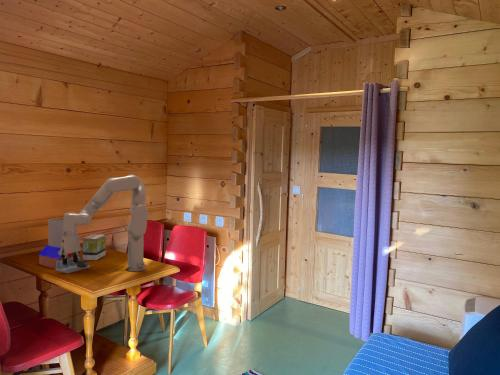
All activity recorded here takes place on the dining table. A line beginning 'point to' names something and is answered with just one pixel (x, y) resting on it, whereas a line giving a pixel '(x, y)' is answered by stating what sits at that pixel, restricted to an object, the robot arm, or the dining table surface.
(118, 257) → the dining table surface
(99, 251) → the tea box
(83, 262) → the cube on round rod
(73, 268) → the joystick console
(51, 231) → the cylinder vase
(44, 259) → the house
